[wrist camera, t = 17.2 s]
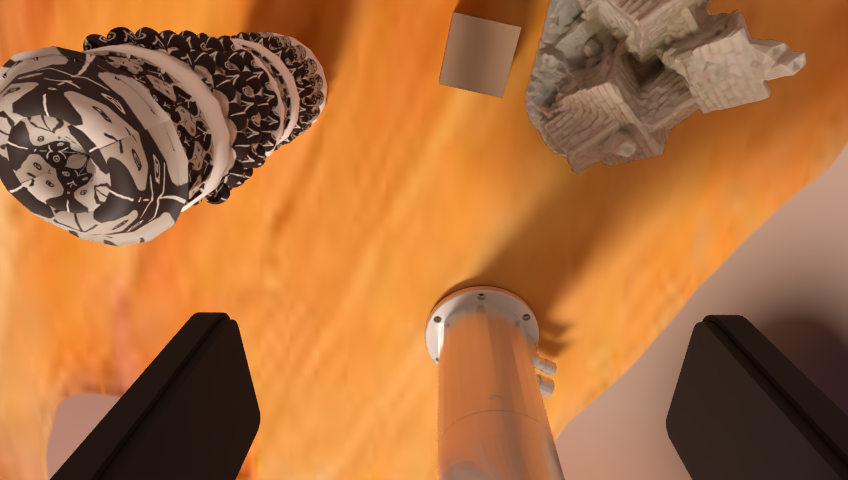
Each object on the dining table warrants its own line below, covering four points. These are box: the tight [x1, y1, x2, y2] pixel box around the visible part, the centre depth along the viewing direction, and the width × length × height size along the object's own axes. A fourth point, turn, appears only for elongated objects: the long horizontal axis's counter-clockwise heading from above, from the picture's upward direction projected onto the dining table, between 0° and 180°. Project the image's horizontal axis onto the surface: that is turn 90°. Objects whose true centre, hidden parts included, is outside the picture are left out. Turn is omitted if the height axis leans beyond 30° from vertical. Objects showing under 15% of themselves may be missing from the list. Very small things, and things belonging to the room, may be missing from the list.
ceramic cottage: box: [525, 0, 807, 174], centre depth 31 cm, size 16×16×15 cm
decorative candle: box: [0, 27, 328, 246], centre depth 28 cm, size 9×9×25 cm
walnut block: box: [439, 12, 521, 98], centre depth 35 cm, size 5×5×5 cm
